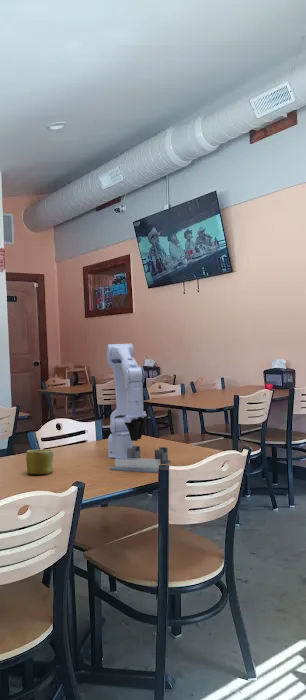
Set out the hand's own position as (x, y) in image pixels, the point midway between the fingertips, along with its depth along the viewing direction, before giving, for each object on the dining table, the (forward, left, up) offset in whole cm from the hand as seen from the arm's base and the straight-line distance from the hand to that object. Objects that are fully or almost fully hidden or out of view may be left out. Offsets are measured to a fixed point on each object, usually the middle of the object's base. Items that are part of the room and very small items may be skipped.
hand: (136, 439), depth 201 cm
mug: (-31, -12, -11) cm, 35 cm away
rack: (0, +10, -10) cm, 14 cm away
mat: (0, 0, -10) cm, 10 cm away
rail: (0, +1, -8) cm, 8 cm away
